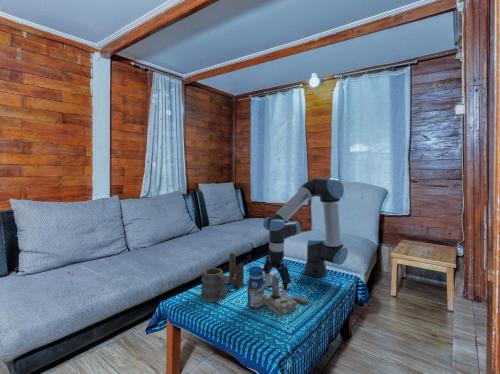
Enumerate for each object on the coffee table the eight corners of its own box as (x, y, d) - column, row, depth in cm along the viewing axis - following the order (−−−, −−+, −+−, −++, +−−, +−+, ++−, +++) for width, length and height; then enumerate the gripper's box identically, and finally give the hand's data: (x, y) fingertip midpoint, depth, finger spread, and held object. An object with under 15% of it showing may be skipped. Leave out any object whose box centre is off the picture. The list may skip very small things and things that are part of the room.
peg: (276, 300, 144) (276, 274, 143) (280, 303, 141) (280, 277, 140) (270, 302, 142) (270, 276, 141) (274, 305, 139) (275, 278, 138)
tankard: (196, 295, 149) (196, 268, 148) (216, 289, 157) (216, 263, 156) (216, 310, 133) (216, 280, 132) (237, 302, 141) (237, 274, 140)
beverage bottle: (254, 301, 142) (254, 264, 141) (267, 307, 137) (267, 268, 136) (243, 308, 136) (244, 268, 134) (256, 314, 130) (257, 273, 129)
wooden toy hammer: (238, 287, 159) (239, 257, 157) (227, 282, 167) (227, 253, 166) (243, 286, 161) (244, 256, 160) (232, 280, 169) (232, 252, 168)
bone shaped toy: (252, 279, 172) (252, 267, 171) (262, 275, 178) (262, 263, 176) (269, 288, 161) (268, 275, 160) (279, 282, 166) (279, 270, 165)
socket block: (278, 297, 147) (279, 291, 147) (296, 308, 136) (296, 301, 136) (262, 302, 142) (262, 296, 141) (279, 314, 130) (279, 307, 130)
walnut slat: (308, 303, 142) (308, 299, 142) (306, 305, 140) (306, 302, 140) (292, 298, 147) (292, 295, 147) (290, 301, 145) (290, 297, 144)
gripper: (256, 245, 148) (256, 283, 149) (286, 258, 127) (285, 302, 128) (267, 243, 152) (267, 280, 153) (298, 255, 131) (297, 298, 132)
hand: (275, 290), depth 141 cm, fingers open, 13 cm apart
